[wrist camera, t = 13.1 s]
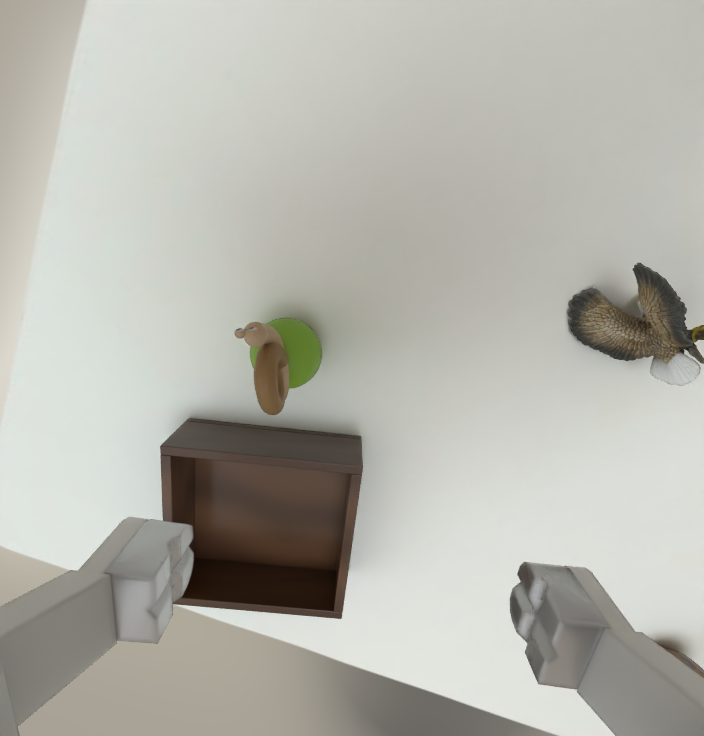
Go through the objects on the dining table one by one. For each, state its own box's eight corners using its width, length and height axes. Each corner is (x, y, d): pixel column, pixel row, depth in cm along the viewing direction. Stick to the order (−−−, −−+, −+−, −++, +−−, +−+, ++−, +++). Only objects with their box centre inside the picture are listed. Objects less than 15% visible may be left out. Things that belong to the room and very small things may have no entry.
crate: (188, 417, 33) (159, 445, 28) (361, 436, 33) (363, 466, 29) (189, 558, 37) (165, 603, 32) (342, 572, 38) (341, 619, 33)
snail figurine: (318, 298, 30) (297, 322, 18) (327, 372, 32) (314, 437, 20) (252, 304, 30) (191, 333, 19) (265, 379, 32) (217, 447, 20)
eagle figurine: (716, 276, 28) (631, 236, 26) (781, 344, 24) (686, 304, 21) (626, 339, 34) (549, 311, 31) (665, 404, 29) (579, 377, 27)
